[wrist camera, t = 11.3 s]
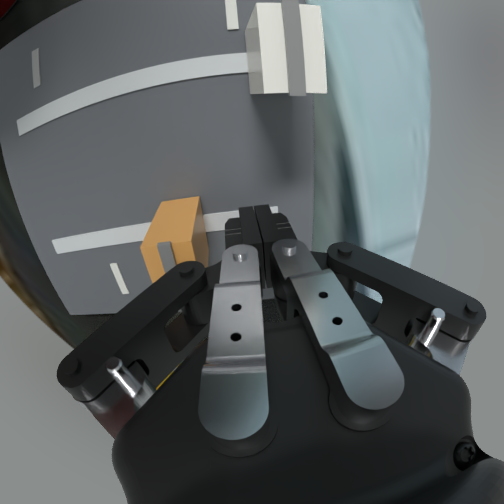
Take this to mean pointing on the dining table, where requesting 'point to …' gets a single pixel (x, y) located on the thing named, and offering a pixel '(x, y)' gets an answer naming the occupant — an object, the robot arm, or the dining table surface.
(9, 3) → the soda can
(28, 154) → the console
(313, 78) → the block
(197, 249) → the fader orange
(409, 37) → the dining table surface
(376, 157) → the dining table surface
